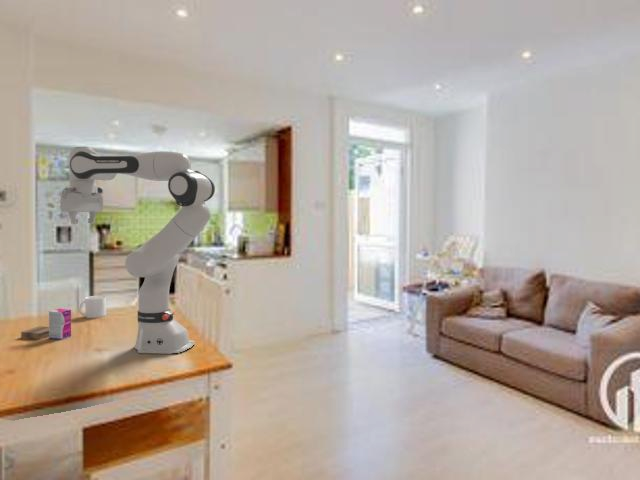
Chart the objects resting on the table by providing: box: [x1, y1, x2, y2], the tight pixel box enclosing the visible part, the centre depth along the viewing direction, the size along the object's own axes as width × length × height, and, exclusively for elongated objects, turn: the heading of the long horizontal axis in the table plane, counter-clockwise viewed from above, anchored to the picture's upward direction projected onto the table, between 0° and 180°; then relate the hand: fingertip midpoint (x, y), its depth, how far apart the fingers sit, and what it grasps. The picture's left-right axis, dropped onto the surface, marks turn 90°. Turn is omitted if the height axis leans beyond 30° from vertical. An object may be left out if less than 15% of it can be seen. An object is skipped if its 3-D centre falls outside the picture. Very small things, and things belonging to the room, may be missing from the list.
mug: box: [78, 295, 107, 319], centre depth 212 cm, size 12×9×9 cm
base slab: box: [20, 325, 49, 340], centre depth 179 cm, size 9×9×2 cm
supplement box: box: [48, 308, 72, 341], centre depth 177 cm, size 6×6×12 cm
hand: (83, 223), depth 172 cm, fingers open, 8 cm apart
